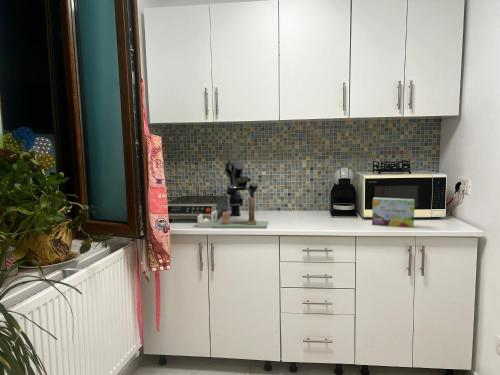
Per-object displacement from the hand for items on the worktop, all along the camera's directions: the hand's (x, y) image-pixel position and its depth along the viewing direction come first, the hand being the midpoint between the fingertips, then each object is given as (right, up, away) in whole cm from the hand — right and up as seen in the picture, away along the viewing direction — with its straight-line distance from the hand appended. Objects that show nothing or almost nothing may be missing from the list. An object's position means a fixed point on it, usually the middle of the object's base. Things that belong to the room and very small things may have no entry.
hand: (245, 200), depth 213 cm
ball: (-23, -12, -3) cm, 26 cm away
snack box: (+81, -14, -13) cm, 83 cm away
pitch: (-8, -14, -5) cm, 17 cm away
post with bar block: (-4, -13, -5) cm, 14 cm away
